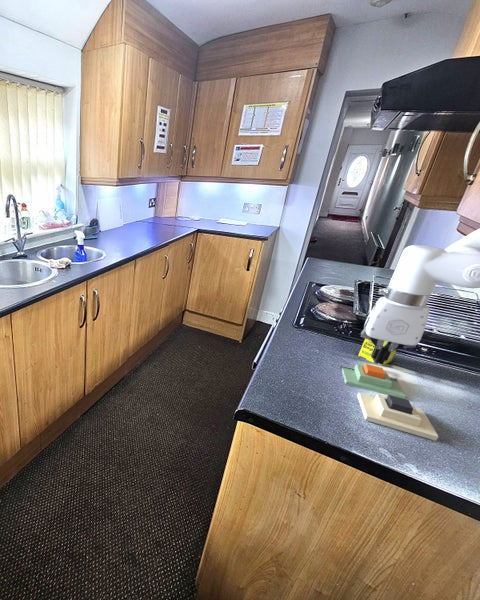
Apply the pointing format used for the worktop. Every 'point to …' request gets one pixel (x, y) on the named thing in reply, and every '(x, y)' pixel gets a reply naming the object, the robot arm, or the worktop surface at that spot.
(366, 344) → the supplement box
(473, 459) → the worktop surface
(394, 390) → the green flat stepped block
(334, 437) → the worktop surface
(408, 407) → the key
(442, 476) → the worktop surface
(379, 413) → the cream flat stepped block
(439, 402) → the worktop surface
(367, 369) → the key
